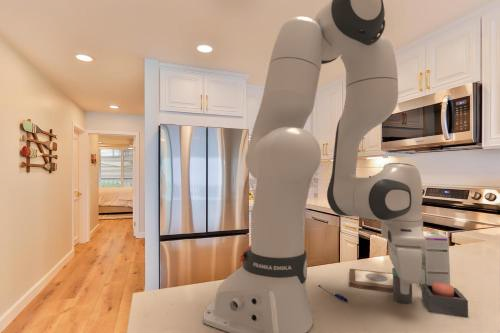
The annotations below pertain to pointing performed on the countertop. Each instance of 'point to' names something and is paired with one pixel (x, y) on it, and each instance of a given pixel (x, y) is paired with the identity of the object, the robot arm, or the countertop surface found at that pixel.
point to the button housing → (445, 302)
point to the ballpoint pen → (334, 293)
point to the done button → (442, 289)
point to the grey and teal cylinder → (396, 290)
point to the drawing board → (371, 280)
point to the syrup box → (435, 259)
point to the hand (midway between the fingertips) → (402, 288)
